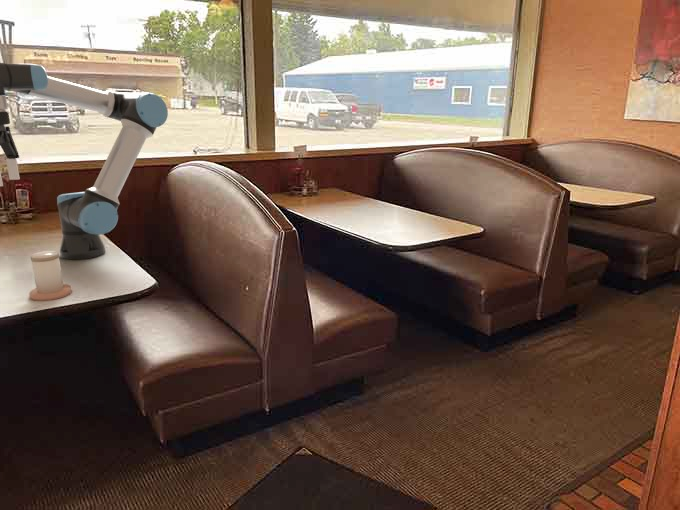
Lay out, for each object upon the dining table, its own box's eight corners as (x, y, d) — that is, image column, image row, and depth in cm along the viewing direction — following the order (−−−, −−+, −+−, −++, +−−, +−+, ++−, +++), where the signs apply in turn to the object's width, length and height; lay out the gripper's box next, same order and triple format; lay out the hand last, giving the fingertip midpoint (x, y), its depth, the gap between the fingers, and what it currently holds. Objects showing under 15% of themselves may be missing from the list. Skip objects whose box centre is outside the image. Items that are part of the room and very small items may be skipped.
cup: (40, 286, 156) (34, 251, 153) (66, 284, 158) (61, 249, 155) (33, 295, 149) (26, 258, 146) (61, 292, 151) (55, 256, 148)
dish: (37, 289, 158) (36, 285, 157) (76, 286, 160) (75, 282, 160) (24, 302, 147) (23, 298, 147) (66, 299, 150) (65, 295, 149)
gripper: (-5, 109, 163) (8, 177, 170) (-42, 112, 140) (-26, 189, 146) (22, 109, 165) (33, 176, 171) (-11, 111, 142) (4, 189, 148)
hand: (6, 182), depth 159 cm, fingers open, 13 cm apart
